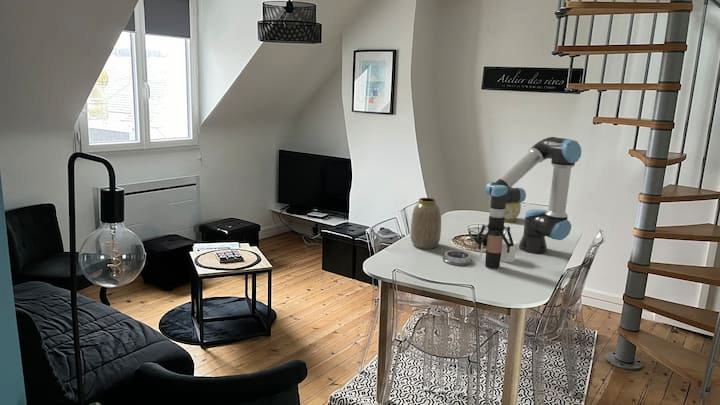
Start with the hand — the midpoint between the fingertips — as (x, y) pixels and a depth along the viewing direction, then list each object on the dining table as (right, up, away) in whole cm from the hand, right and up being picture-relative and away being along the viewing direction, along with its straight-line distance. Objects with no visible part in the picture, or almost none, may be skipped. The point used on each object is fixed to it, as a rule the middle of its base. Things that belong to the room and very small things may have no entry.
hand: (493, 257), depth 269 cm
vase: (-31, +3, +33) cm, 45 cm away
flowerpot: (+33, +16, +95) cm, 101 cm away
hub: (-17, -3, +8) cm, 19 cm away
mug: (+10, -3, +14) cm, 17 cm away
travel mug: (0, -5, +1) cm, 5 cm away
